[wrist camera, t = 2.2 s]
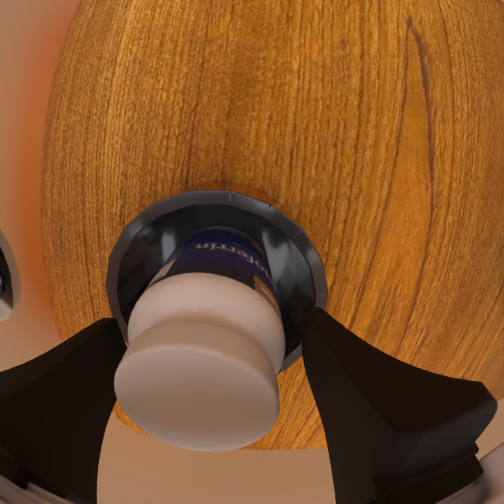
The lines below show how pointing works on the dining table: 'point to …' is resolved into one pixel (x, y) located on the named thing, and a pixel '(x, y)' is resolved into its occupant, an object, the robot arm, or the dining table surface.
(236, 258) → the pill bottle
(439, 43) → the dining table surface
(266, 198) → the bowl
